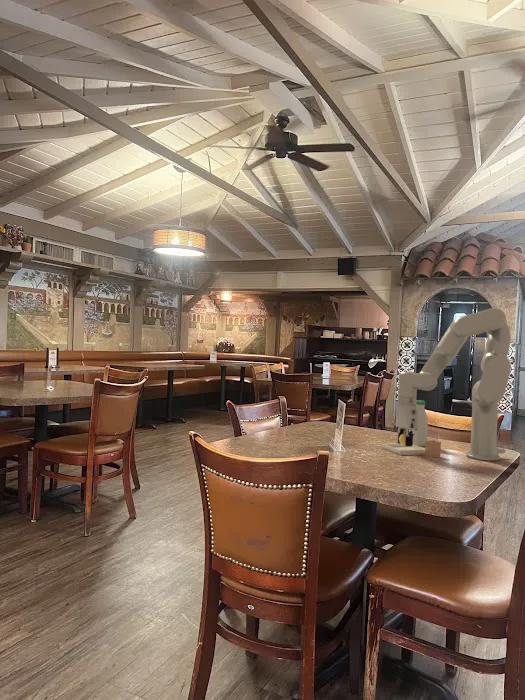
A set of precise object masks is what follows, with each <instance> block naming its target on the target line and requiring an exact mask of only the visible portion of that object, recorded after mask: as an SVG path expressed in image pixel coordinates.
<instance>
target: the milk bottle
mask: <svg viewBox="0 0 525 700" xmlns="http://www.w3.org/2000/svg"><path fill="white" fill-rule="evenodd" d="M416 406H417V410H418V428H417V432H415V434H414V437H413V445H416V446H419V447H425V443H426V440H428V434H429V433H428V432H429V431H428V430H429V421H428V420H429V418H428V415H427V412H426V408H425V406H426V401H425V400H422V399H421V400H420V399H418V400H417V399H416ZM410 429H411V428H410ZM410 431H411V430H409V432H410Z"/></svg>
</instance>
